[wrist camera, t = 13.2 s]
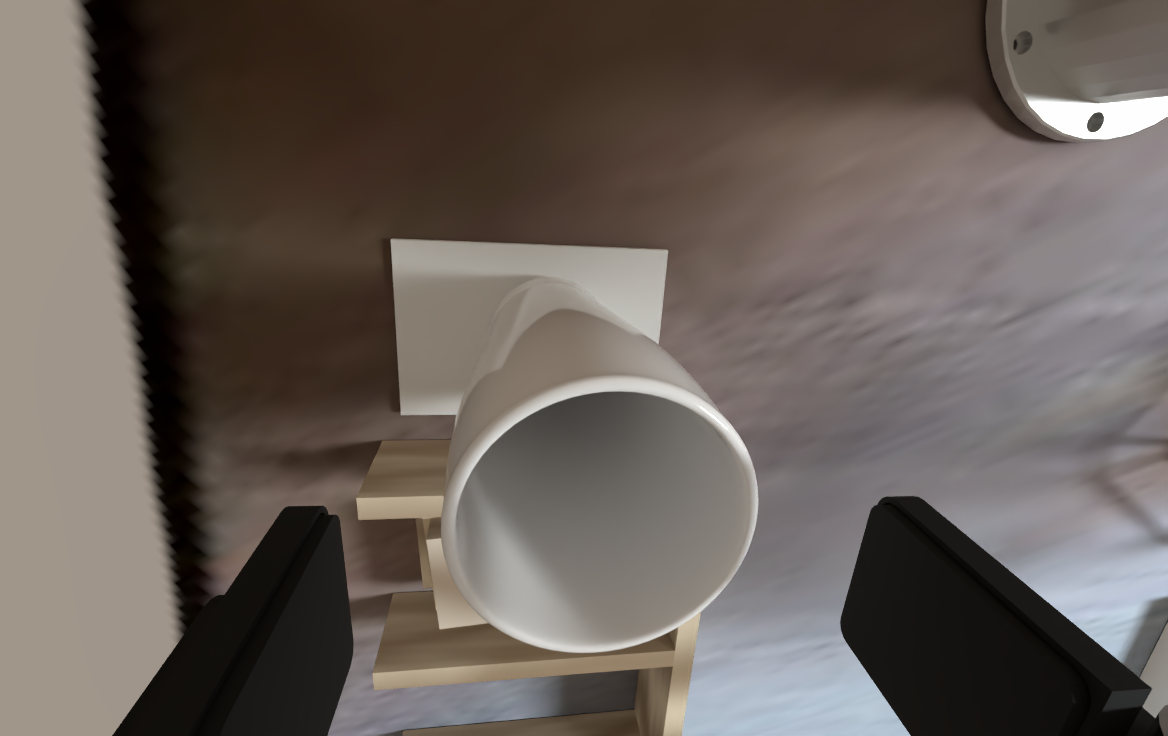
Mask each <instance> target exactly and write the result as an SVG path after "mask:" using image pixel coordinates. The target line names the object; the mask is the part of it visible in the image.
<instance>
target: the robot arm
mask: <svg viewBox="0 0 1168 736" xmlns="http://www.w3.org/2000/svg"><path fill="white" fill-rule="evenodd" d="M985 21H986V41H987V52H988V56H989V61H990V65H991V70H992V74H993V77H994V80H995V82H996V84H997V86H998V89H999V91H1000V93H1001V95H1002V97H1003V100H1004V101H1005V102H1006V104H1007V105H1008V106H1009V107H1010V109H1011V110H1012V111H1013V113H1014V114H1015V115H1016V117H1017V118H1018V119H1019V120H1021V121H1022V122H1023V123H1024V124H1026V125H1027V126H1028V127H1030V128H1031V129H1032V130H1033V131H1035V132H1037V133H1039V134H1042V135H1044V136H1046V137H1049V138H1051V139H1054V140H1059V141H1066V142H1074V143H1080V142H1100V141H1108V140H1113V139H1118V138H1123V137H1127V136H1130V135H1132V134H1135V133H1137V132H1139V131H1142V130H1144V129H1147V128H1149V127H1151V126H1153V125H1155V124H1156V123H1158V122H1159V121H1161V120H1163V119H1164V118H1166V117H1167V116H1168V0H987V8H986V18H985ZM840 624H841V631H842V634H843V637H844V639H845V641H846V642H847V644H848V645H849V647H850V648H851V650H852V651H853V652H854V654H855V655H856V657H857V658H858V660H859V661H860V663H861V664H862V666H863V667H864V668H865V670H866V671H867V673H868V674H869V676H870V677H871V679H872V680H873V681H874V683H875V684H876V686H877V687H878V689H879V690H880V692H881V693H882V695H883V696H884V697H885V699H886V700H887V702H888V703H889V705H890V706H891V708H892V709H893V710H894V712H895V713H896V715H897V716H898V718H899V719H900V721H901V722H902V724H903V725H904V726H905V728H906V729H907V731H908V732H909V734H910V735H911V736H1168V705H1165V706H1164V707H1163V708H1162V709H1161V710H1160V712H1159V713H1158V715H1157V716H1156V718H1154V717H1153V716H1152V715H1151V714H1150V713H1149V712H1148V711H1146V710H1145V709H1144V708H1143V705H1144V703H1145V701H1146V699H1147V698H1148V696H1149V694H1150V692H1151V690H1152V688H1151V687H1150V686H1149V685H1147V684H1146V683H1145V682H1144V681H1143V680H1141V679H1140V678H1139V677H1138V676H1136V675H1135V674H1134V673H1133V672H1132V671H1130V670H1129V669H1128V668H1127V667H1126V666H1124V665H1123V664H1122V663H1121V662H1119V661H1118V660H1117V659H1116V658H1115V657H1113V656H1112V655H1111V654H1110V653H1109V652H1107V651H1106V650H1105V649H1104V648H1102V647H1101V646H1100V645H1099V644H1098V643H1096V642H1095V641H1094V640H1093V639H1092V638H1090V637H1089V636H1088V635H1087V634H1085V633H1084V632H1083V631H1082V630H1081V629H1079V628H1078V627H1077V626H1076V625H1075V624H1073V623H1072V622H1071V621H1070V620H1068V619H1067V618H1066V617H1065V616H1064V615H1062V614H1061V613H1060V612H1059V611H1058V610H1056V609H1055V608H1054V607H1053V606H1051V605H1050V604H1049V603H1048V602H1047V601H1045V600H1044V599H1043V598H1042V597H1041V596H1039V595H1038V594H1037V593H1036V592H1034V591H1033V590H1032V589H1031V588H1030V587H1028V586H1027V585H1026V584H1025V583H1024V582H1022V581H1021V580H1020V579H1019V578H1018V577H1016V576H1015V575H1014V574H1013V573H1011V572H1010V571H1009V570H1008V569H1007V568H1005V567H1004V566H1003V565H1002V564H1001V563H999V562H998V561H997V560H996V559H994V558H993V557H992V556H991V555H990V554H988V553H987V552H986V551H985V550H984V549H982V548H981V547H980V546H979V545H977V544H976V543H975V542H974V541H973V540H971V539H970V538H969V537H968V536H967V535H965V534H964V533H963V532H962V531H960V530H959V529H958V528H957V527H956V526H954V525H953V524H952V523H951V522H950V521H948V520H947V519H946V518H945V517H943V516H942V515H941V514H940V513H939V512H937V511H936V510H935V509H934V508H933V507H931V506H930V505H929V504H928V503H926V502H925V501H924V500H923V499H921V498H919V497H915V496H896V497H884V498H882V499H881V500H880V501H879V502H878V505H876V506H874V507H873V508H872V509H871V511H870V514H869V518H868V521H867V525H866V529H865V532H864V536H863V540H862V543H861V547H860V550H859V554H858V558H857V561H856V565H855V568H854V572H853V576H852V579H851V583H850V587H849V590H848V594H847V597H846V601H845V605H844V608H843V612H842V615H841V621H840ZM352 656H353V633H352V624H351V615H350V607H349V598H348V589H347V580H346V571H345V562H344V553H343V545H342V536H341V527H340V520H339V517H338V516H337V515H328V511H327V509H326V507H324V506H288V507H285V508H284V509H283V510H282V511H281V513H280V514H279V516H278V517H277V519H276V520H275V522H274V523H273V525H272V526H271V528H270V529H269V530H268V532H267V533H266V535H265V536H264V538H263V539H262V541H261V542H260V544H259V545H258V547H257V548H256V550H255V551H254V552H253V554H252V555H251V557H250V558H249V560H248V561H247V563H246V564H245V566H244V567H243V569H242V570H241V571H240V573H239V574H238V576H237V577H236V579H235V580H234V582H233V583H232V585H231V586H230V588H229V589H228V591H227V592H226V593H225V595H218V596H216V597H214V598H212V599H211V600H210V601H209V602H208V603H207V604H206V605H205V606H204V608H203V609H202V610H201V612H200V613H199V615H198V616H197V617H196V619H195V620H194V622H193V623H192V624H191V626H190V627H189V629H188V630H187V631H186V633H185V634H184V636H183V637H182V638H181V640H180V641H179V643H178V644H177V645H176V647H175V648H174V650H173V651H172V653H171V654H170V655H169V657H168V658H167V660H166V661H165V662H164V664H163V665H162V667H161V668H160V669H159V671H158V672H157V674H156V675H155V676H154V678H153V679H152V681H151V682H150V684H149V685H148V686H147V688H146V689H145V691H144V692H143V693H142V695H141V696H140V698H139V699H138V700H137V702H136V703H135V705H134V706H133V707H132V709H131V710H130V712H129V713H128V714H127V716H126V717H125V719H124V720H123V721H122V723H121V724H120V726H119V727H118V728H117V730H116V731H115V733H114V734H113V735H112V736H327V735H328V732H329V729H330V726H331V723H332V720H333V717H334V714H335V711H336V708H337V705H338V702H339V699H340V696H341V693H342V690H343V687H344V684H345V681H346V678H347V675H348V672H349V669H350V665H351V661H352Z"/></svg>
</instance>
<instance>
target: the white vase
mask: <svg viewBox="0 0 1168 736" xmlns="http://www.w3.org/2000/svg"><path fill="white" fill-rule="evenodd" d="M757 515H758V485H757V480H756V474H755V470H754V467H753V464H752V460H751V458H750V455H749V453H748V451H747V449H746V446H745V445H744V443H743V441H742V439H741V438H740V436H739V434H738V433H737V432H736V430H735V429H734V428H733V426H732V425H731V424H730V422H729V421H728V420H727V419H726V418H725V417H724V415H723V414H722V413H721V411H720V410H719V409H718V407H717V406H716V405H715V403H714V402H713V401H712V399H711V398H710V397H709V396H708V394H707V393H706V392H705V391H704V389H703V388H702V387H701V386H700V385H699V384H698V382H697V381H696V380H695V379H694V378H693V377H692V376H691V375H690V374H689V373H688V372H687V371H686V370H685V369H684V367H683V366H682V365H681V364H680V363H679V362H678V361H677V360H676V359H675V358H674V357H672V356H671V355H670V354H669V353H668V352H667V351H666V350H665V349H663V348H662V347H661V346H660V345H659V344H657V343H656V342H655V341H654V340H652V339H651V338H650V337H648V336H647V335H646V334H644V333H643V332H641V331H640V330H639V329H637V328H636V327H634V326H633V325H631V324H630V323H628V322H627V321H625V320H624V319H622V318H621V317H619V316H618V315H617V314H615V313H614V312H612V311H611V310H609V309H608V308H607V307H605V306H604V305H602V304H601V303H600V302H598V301H597V299H596V298H595V297H594V296H593V295H592V294H591V293H590V292H589V291H588V290H586V289H585V288H583V287H582V286H580V285H578V284H577V283H575V282H572V281H570V280H566V279H562V278H556V277H543V278H537V279H533V280H529V281H527V282H524V283H522V284H520V285H519V286H517V287H515V288H514V289H513V290H511V291H510V292H509V293H508V294H507V295H506V296H505V297H504V298H503V299H502V300H501V302H500V303H499V305H498V306H497V308H496V310H495V312H494V314H493V316H492V319H491V323H490V328H489V334H488V336H487V339H486V341H485V344H484V346H483V349H482V351H481V353H480V356H479V358H478V360H477V362H476V365H475V367H474V369H473V372H472V374H471V376H470V379H469V381H468V384H467V386H466V389H465V391H464V394H463V396H462V399H461V402H460V405H459V409H458V412H457V416H456V419H455V423H454V427H453V431H452V436H451V441H450V446H449V452H448V458H447V465H446V472H445V482H444V493H443V507H442V513H441V542H442V548H443V553H444V558H445V561H446V564H447V567H448V570H449V573H450V575H451V577H452V579H453V581H454V584H455V585H456V587H457V588H458V590H459V592H460V593H461V595H462V596H463V598H464V599H465V600H466V601H467V603H468V604H469V605H470V606H471V607H472V608H473V609H474V610H475V611H476V613H477V614H478V615H479V616H481V617H482V618H483V619H484V620H486V621H487V622H488V623H489V624H491V625H492V626H493V627H495V628H496V629H498V630H499V631H501V632H503V633H505V634H507V635H508V636H510V637H512V638H514V639H517V640H519V641H522V642H524V643H527V644H530V645H533V646H536V647H539V648H544V649H548V650H553V651H560V652H570V653H597V652H607V651H613V650H619V649H624V648H628V647H632V646H636V645H639V644H642V643H645V642H648V641H650V640H653V639H655V638H657V637H660V636H662V635H664V634H666V633H668V632H670V631H672V630H674V629H676V628H677V627H679V626H681V625H682V624H684V623H686V622H687V621H689V620H690V619H691V618H693V617H694V616H696V615H697V614H698V613H699V612H701V611H702V610H703V609H704V608H705V607H707V606H708V605H709V604H710V603H711V602H712V601H713V600H714V599H715V598H716V597H717V596H718V595H719V594H720V593H721V592H722V590H723V589H724V588H725V587H726V586H727V585H728V583H729V582H730V580H731V579H732V578H733V576H734V575H735V573H736V572H737V570H738V568H739V567H740V565H741V563H742V562H743V560H744V558H745V555H746V553H747V551H748V549H749V546H750V543H751V541H752V538H753V534H754V530H755V527H756V521H757Z"/></svg>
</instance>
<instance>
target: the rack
mask: <svg viewBox="0 0 1168 736" xmlns="http://www.w3.org/2000/svg"><path fill="white" fill-rule="evenodd" d="M450 441H451V440H384V441H382V442H381V445H380V447H379V449H378V451H377V453H376V456H375V458H374V460H373V462H372V465H371V467H370V469H369V471H368V473H367V476H366V478H365V480H364V482H363V485H362V487H361V489H360V491H359V493H358V496H357V498H356V500H357V510H358V520H372V519H401V518H430V517H441V513H442V507H443V493H444V482H445V472H446V465H447V458H448V452H449V446H450ZM700 613H701V612H699V613H698V614H697V615H696V616H694V617H693V618H691V619H690V620H689V621H687V622H686V623H684V624H682V625H681V626H679V627H677V628H676V629H674V630H672V631H670V632H668V633H666V634H664V635H662V636H660V637H657V638H655V639H653V640H650V641H648V642H645V643H642V644H639V645H636V646H632V647H628V648H624V649H619V650H613V651H607V652H597V653H570V652H560V651H553V650H548V649H544V648H539V647H536V646H533V645H530V644H527V643H524V642H522V641H519V640H517V639H514V638H512V637H510V636H508V635H507V634H505V633H503V632H501V631H499V630H498V629H496V628H495V627H493V626H492V625H491V624H489V623H485V624H478V625H470V626H462V627H454V628H447V629H439V622H438V615H437V610H436V607H435V600H434V594H433V591H425V592H407V593H393V596H392V600H391V604H390V608H389V612H388V616H387V620H386V623H385V627H384V631H383V635H382V639H381V643H380V647H379V650H378V654H377V658H376V662H375V666H374V670H373V683H374V690H382V689H395V688H408V687H420V686H433V685H445V684H458V683H470V682H483V681H496V680H508V679H521V678H533V677H546V676H558V675H571V674H584V673H596V672H609V671H621V670H634V669H639V673H638V682H637V690H636V699H635V708H634V710H624V711H613V712H602V713H591V714H580V715H569V716H558V717H547V718H536V719H525V720H514V721H503V722H492V723H481V724H470V725H459V726H448V727H437V728H426V729H415V730H404V731H403V735H402V736H682V729H683V723H684V716H685V710H686V703H687V697H688V691H689V684H690V678H691V671H692V665H693V658H694V652H695V645H696V639H697V632H698V626H699V620H700Z"/></svg>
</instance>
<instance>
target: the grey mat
mask: <svg viewBox="0 0 1168 736" xmlns="http://www.w3.org/2000/svg"><path fill="white" fill-rule="evenodd" d="M391 254H392V271H393V288H394V305H395V322H396V339H397V356H398V373H399V390H400V407H401V415H457V412H458V409H459V405H460V402H461V399H462V396H463V394H464V391H465V389H466V386H467V384H468V381H469V379H470V376H471V374H472V372H473V369H474V367H475V365H476V362H477V360H478V358H479V356H480V353H481V351H482V349H483V346H484V344H485V341H486V339H487V336H488V334H489V328H490V323H491V319H492V316H493V314H494V312H495V310H496V308H497V306H498V305H499V303H500V302H501V300H502V299H503V298H504V297H505V296H506V295H507V294H508V293H509V292H510V291H511V290H513V289H514V288H515V287H517V286H519V285H520V284H522V283H524V282H527V281H529V280H533V279H537V278H543V277H556V278H562V279H566V280H570V281H572V282H575V283H577V284H578V285H580V286H582V287H583V288H585V289H586V290H588V291H589V292H590V293H591V294H592V295H593V296H594V297H595V298H596V299H597V301H598V302H600V303H601V304H602V305H604V306H605V307H607V308H608V309H609V310H611V311H612V312H614V313H615V314H617V315H618V316H619V317H621V318H622V319H624V320H625V321H627V322H628V323H630V324H631V325H633V326H634V327H636V328H637V329H639V330H640V331H641V332H643V333H644V334H646V335H647V336H648V337H650V338H651V339H652V340H654V341H655V342H656V343H657V344H659V335H660V325H661V315H662V306H663V296H664V286H665V277H666V267H667V257H668V250H666V249H649V248H624V247H599V246H574V245H548V244H523V243H498V242H473V241H447V240H422V239H397V238H392V239H391Z"/></svg>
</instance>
